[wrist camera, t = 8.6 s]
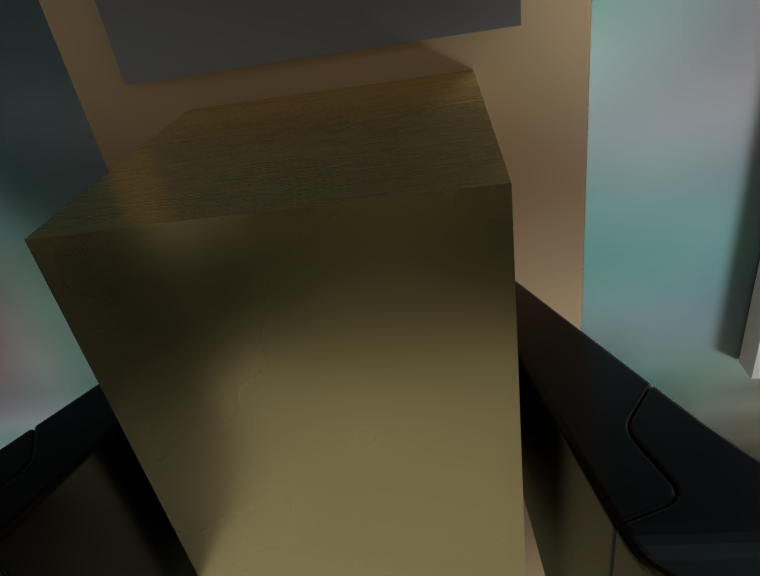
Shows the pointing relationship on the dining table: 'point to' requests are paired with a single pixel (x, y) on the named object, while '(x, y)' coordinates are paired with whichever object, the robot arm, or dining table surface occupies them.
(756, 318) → the mat
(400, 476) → the olive wooden block
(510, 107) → the plane body
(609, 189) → the dining table surface
